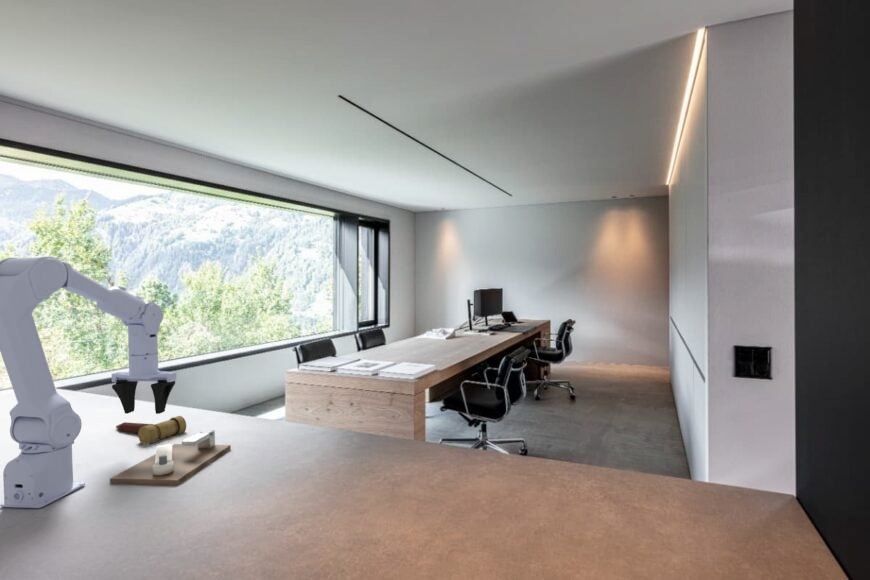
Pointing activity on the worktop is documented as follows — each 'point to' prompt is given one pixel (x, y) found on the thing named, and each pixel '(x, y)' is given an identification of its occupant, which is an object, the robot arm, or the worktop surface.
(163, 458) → the swing link
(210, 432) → the keeper
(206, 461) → the pivot board
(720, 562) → the worktop surface
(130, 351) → the robot arm
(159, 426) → the gavel
